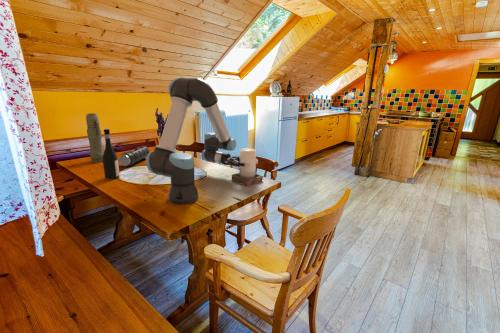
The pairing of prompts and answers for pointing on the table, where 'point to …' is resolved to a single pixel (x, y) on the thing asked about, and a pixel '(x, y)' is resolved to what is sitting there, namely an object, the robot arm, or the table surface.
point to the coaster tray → (247, 182)
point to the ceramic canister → (248, 157)
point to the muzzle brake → (133, 156)
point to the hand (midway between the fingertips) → (253, 163)
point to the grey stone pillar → (94, 138)
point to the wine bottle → (110, 159)
